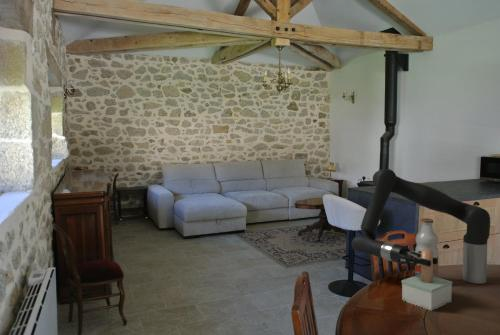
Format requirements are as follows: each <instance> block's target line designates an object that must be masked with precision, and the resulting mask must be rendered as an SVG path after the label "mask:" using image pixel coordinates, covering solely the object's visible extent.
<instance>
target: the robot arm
mask: <svg viewBox="0 0 500 335" xmlns="http://www.w3.org/2000/svg"><path fill="white" fill-rule="evenodd" d="M372 182H373V184H374V185H375V187H374V191H373V192H374V193H373V196H372V198H371V201H370V202H369V204H368V206H367V208H366V210H365V212H364V214H363V218H362V221H361V224H360V230H361V231H363V236H361V235H358V236H355V237H354V238H353V239H352V241H351V247H352V249H353V250H354V251H355V252H359V253H362V254H368V255H372V256H374V257H378V258H381V259H384V260H386V261H388V262H393V263H397V264H401V265H404V264H405V265H412V266H415V265H417V264H418V265H421V264H422V265H425V266H431V261H430V260H426V259H421V251H418V252H415V250H410V248H408V246H407V245H403V244H399V243H394V242H387V241H382V240H379V239H378V240H377V230H378V226H379V224H380V220H381V217H382V215H383V212H384V208H385V206H386V203H387V201H388V199H389V197H390V194H391V193H393V194H397V195H399V196H401V197H403V198H405V199H407V200H409V201H411V202H412V203H415V204H416V205H417V204H418V205H420V206H422V207H423V208H426V209H429V210H432V211H434V212H438V213H442V214H446V215H449V216H451V217H454V218H456V219H457V220H459V221H461V222H462V223H465V224H466V232H465V234H464V235H463V241H462V242H463V244H462V246H463V247H462V280H463V281H465V282H466V283H470V284H475V285H476V284H477V285H478V284H479V285H481V284H486V283H487V279H488V278H487V277H488V240H489V238H490V233H491V232H490V230H491V215H490V213H489V212H488V211H487V210H486V209H485V208H483V207H481V206H478V205H475V204H474V205H473V204H470V203H466V202H463V201H460V200H457V199H454V198H453V197H451V196H450V195H448V194H446V193H444V192H443V191H441V190H438V189H436V188H434V187H431V186H428V185H425V184H421V183H419V182H415V181H414V182H413V181H409V180H406V179H405V178H402V177H399V176H397V175H396V172H394V171H393V170H392V169H389V168H382V169H379V170H377V171H375V172H374V174H373V175H372ZM433 264H438V265H439V258H438V259H437V258H433Z"/></svg>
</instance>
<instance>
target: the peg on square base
mask: <svg viewBox="0 0 500 335" xmlns="http://www.w3.org/2000/svg"><path fill="white" fill-rule="evenodd" d="M421 259H426V260H430V261H431V266H425V265H422V264H421V274H419V275H416V276H415V275H414V276H410V277H408V278H404V279H402V280H401V284H402V283H403V284H406V285H409V286H412V287H415V288H419V289H422V290H425V291H428V292H431V293H432V292H435V291H437V290H439V289H442V288H444V287H447V286H449V285H452V286H453V281H451V280H448V279H444V278H441V277H439V276H438V277H434V276H433V251H432V250H428V249H423V250H421Z"/></svg>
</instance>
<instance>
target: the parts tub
mask: <svg viewBox="0 0 500 335" xmlns="http://www.w3.org/2000/svg"><path fill="white" fill-rule="evenodd" d="M452 286H453V284H452V285H449V286H447V287H444V288H442V289H439V290H437V291H435V292H432V293H431V292H428V291H425V290H422V289H419V288H415V287H412V286H409V285H406V284H403V283H401V287H402V288H401V290H402V291H401V297H402V298H401V301H402V300H403V301H402V302H405V301H406V303H408V304H410V303H411V305H413V304H414V305H413V306H416V305H417V306H416V307H419V306H420V308H421V307H423V308H422V309H424V308H425V309H424V310H427V309H428V311H430V310H431V311H430V312H433V311H434V309H435V310H436V309H439V308H441V307H443V306H445V305H448V304H449V303H452V292H453V291H452V289H453V288H452ZM447 303H448V304H447ZM432 310H433V311H432Z"/></svg>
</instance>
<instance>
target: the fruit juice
mask: <svg viewBox="0 0 500 335" xmlns="http://www.w3.org/2000/svg"><path fill="white" fill-rule="evenodd" d="M420 224H421V227H420V229H419V231H418V232H417V234H416V235H415V242H416V245H415V250H414V251H415V252H418V251H421V250H423V249H428V250H432V251H433V258H437V259H438V260H439V249H438V243H439V237H438V235H437V234H436V233H435V231H434V227H433V224H434V219H432V218H421V219H420ZM419 274H421V265H418V264H417V265H414V276H416V275H419ZM433 276H434V277H438V278H439V263H438V264H433Z"/></svg>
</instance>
